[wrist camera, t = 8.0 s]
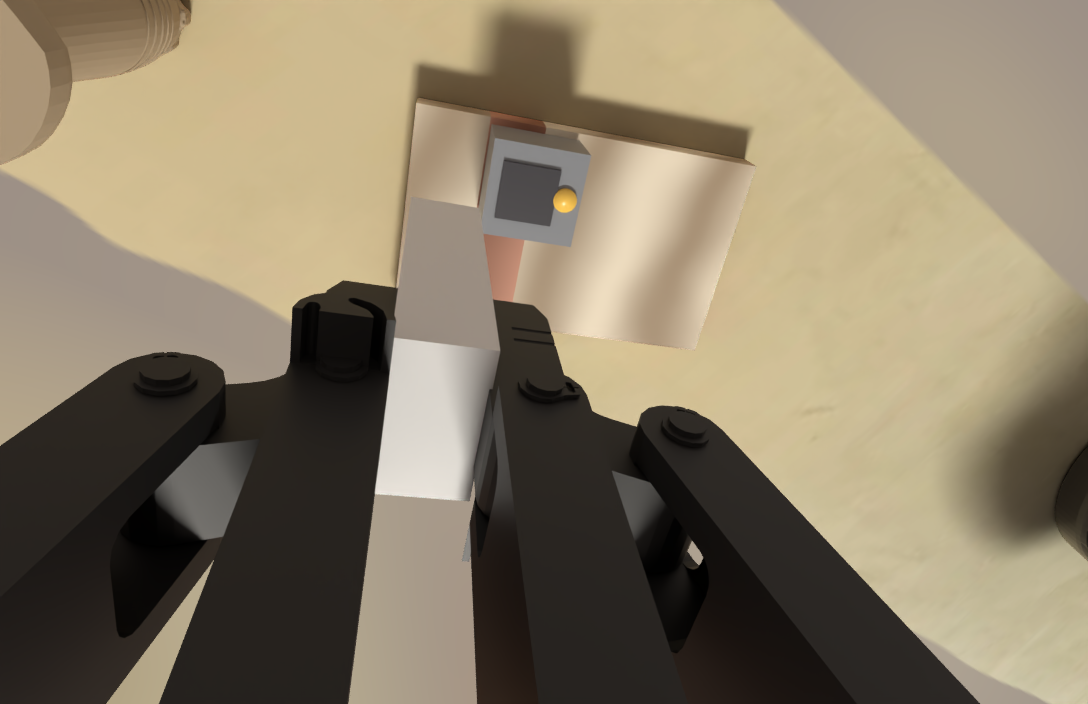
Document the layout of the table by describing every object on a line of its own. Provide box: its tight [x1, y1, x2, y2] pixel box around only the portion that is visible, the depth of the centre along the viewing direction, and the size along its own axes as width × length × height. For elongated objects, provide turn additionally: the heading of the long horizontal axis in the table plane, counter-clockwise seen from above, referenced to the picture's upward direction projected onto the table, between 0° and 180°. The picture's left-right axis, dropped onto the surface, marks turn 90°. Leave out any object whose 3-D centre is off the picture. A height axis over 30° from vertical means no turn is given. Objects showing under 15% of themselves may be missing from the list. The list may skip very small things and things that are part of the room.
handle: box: [0, 0, 191, 165], centre depth 22 cm, size 5×6×15 cm
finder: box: [478, 124, 591, 247], centre depth 30 cm, size 4×4×3 cm
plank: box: [396, 98, 756, 350], centre depth 34 cm, size 16×10×2 cm, turn 79°
